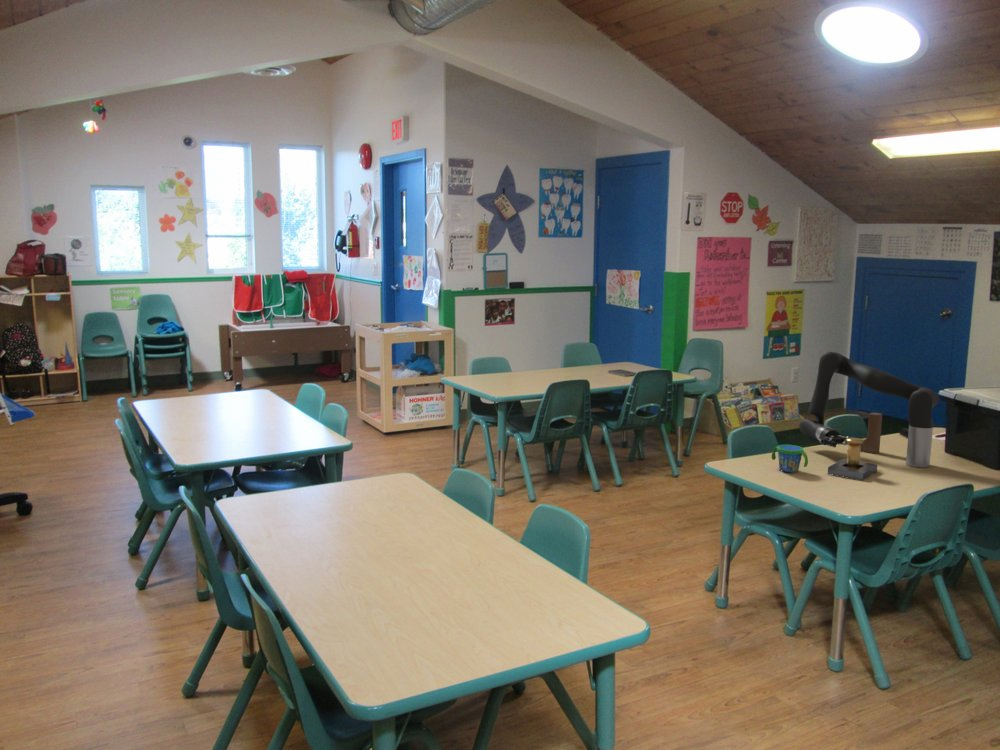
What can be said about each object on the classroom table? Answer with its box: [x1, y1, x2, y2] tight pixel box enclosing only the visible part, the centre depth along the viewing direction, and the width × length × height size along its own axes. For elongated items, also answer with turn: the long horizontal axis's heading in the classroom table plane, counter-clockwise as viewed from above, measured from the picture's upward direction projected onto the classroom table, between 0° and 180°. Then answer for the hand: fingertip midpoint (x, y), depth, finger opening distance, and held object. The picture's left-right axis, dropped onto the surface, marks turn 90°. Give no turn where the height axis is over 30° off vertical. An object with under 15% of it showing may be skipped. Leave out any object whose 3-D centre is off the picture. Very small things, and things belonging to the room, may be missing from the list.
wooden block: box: [860, 412, 883, 455], centre depth 386 cm, size 9×4×18 cm, turn 47°
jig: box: [827, 458, 878, 481], centre depth 352 cm, size 18×14×3 cm
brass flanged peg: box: [846, 437, 863, 469], centre depth 351 cm, size 7×7×14 cm
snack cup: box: [771, 444, 809, 473], centre depth 354 cm, size 16×10×10 cm
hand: (845, 444), depth 358 cm, fingers open, 8 cm apart
